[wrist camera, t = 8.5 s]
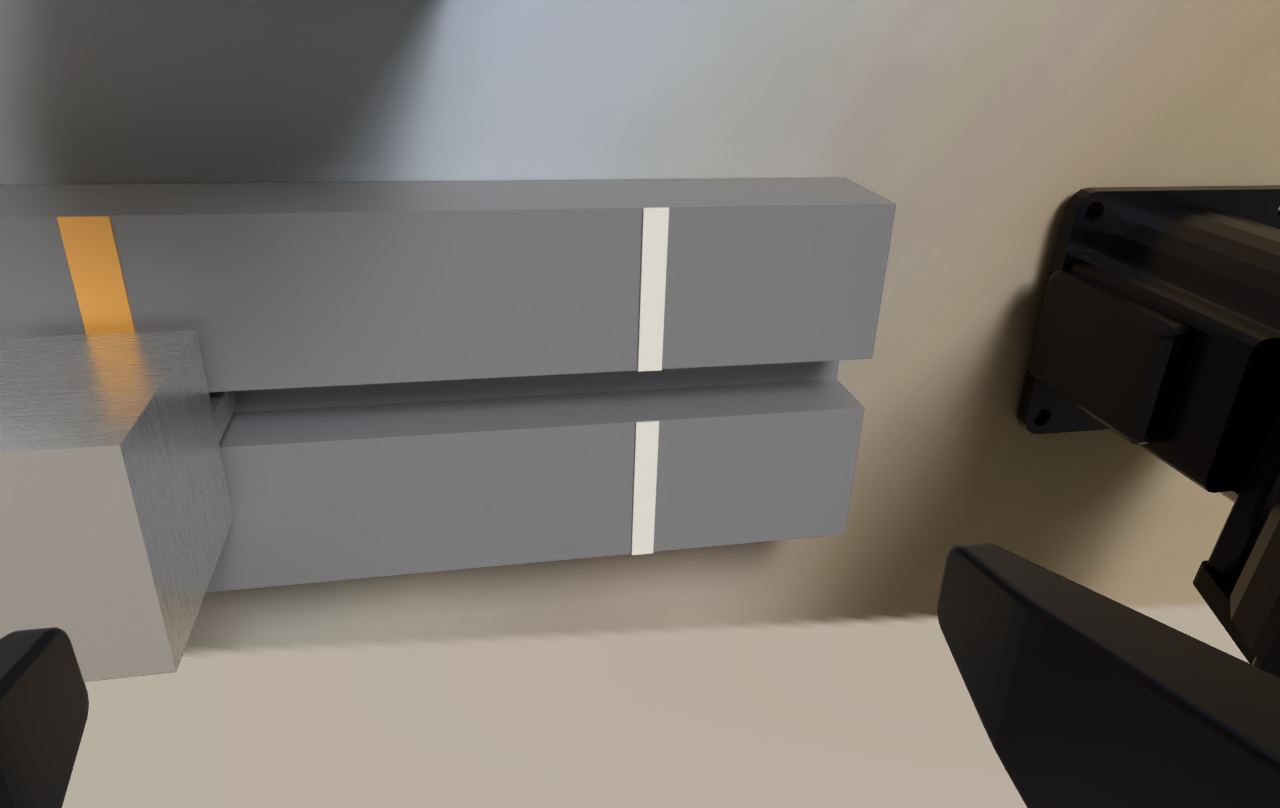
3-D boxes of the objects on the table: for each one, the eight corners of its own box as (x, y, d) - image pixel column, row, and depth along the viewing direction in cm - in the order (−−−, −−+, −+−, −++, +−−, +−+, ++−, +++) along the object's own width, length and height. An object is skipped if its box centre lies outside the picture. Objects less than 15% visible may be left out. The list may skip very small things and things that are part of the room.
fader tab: (217, 299, 18) (119, 445, 12) (248, 476, 19) (175, 672, 14) (48, 305, 17) (-133, 460, 12) (96, 486, 19) (-41, 695, 13)
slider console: (844, 177, 20) (897, 204, 18) (805, 479, 24) (845, 535, 22) (-164, 186, 17) (-264, 221, 14) (-38, 545, 20) (-100, 622, 18)
